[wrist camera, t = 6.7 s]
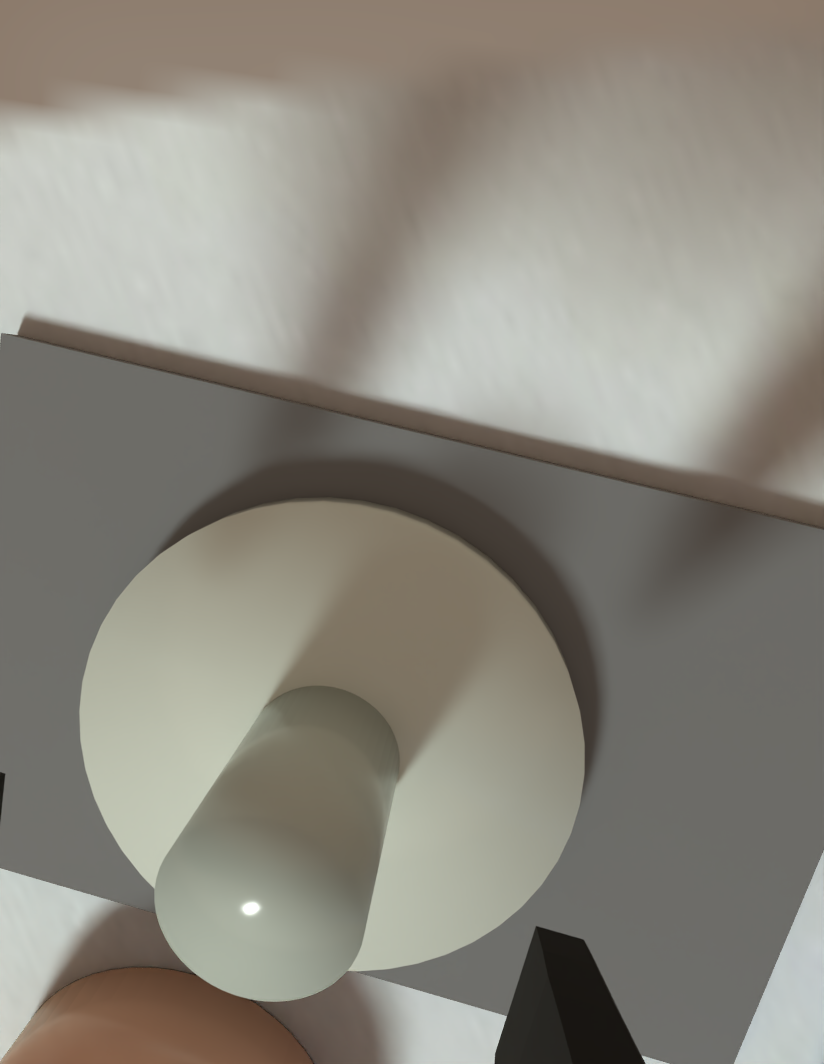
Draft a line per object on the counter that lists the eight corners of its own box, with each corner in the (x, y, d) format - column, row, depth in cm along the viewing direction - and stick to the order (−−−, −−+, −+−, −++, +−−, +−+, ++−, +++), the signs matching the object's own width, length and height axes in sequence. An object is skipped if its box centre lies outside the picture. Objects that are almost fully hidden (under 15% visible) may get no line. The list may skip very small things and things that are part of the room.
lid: (652, 584, 13) (750, 704, 8) (492, 997, 15) (497, 1271, 11) (146, 433, 13) (-39, 464, 8) (68, 859, 16) (-110, 1068, 11)
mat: (932, 553, 13) (946, 559, 12) (720, 1062, 15) (726, 1079, 15) (14, 334, 14) (1, 333, 13) (-31, 844, 16) (-44, 855, 16)
